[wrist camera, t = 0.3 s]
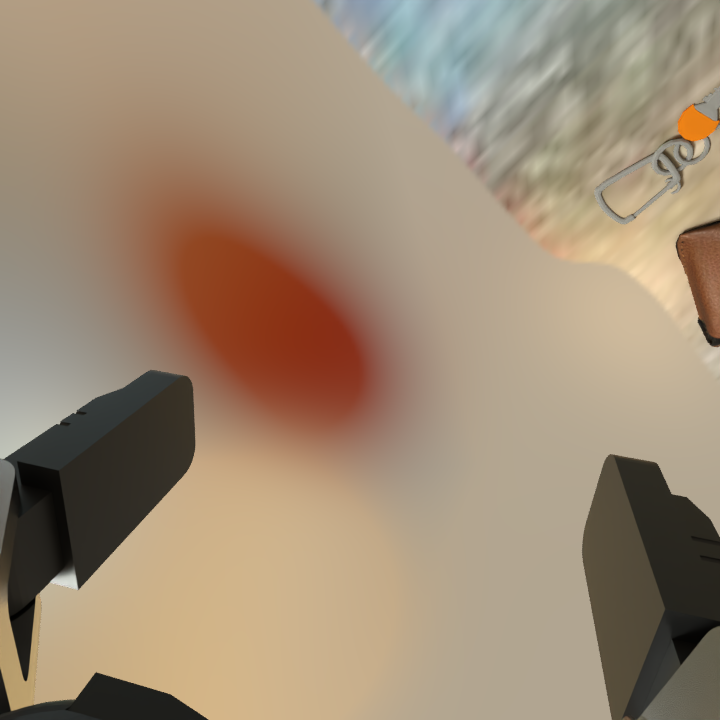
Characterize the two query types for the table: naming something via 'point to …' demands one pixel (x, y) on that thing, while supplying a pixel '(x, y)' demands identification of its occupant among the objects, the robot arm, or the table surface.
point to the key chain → (691, 127)
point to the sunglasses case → (703, 275)
